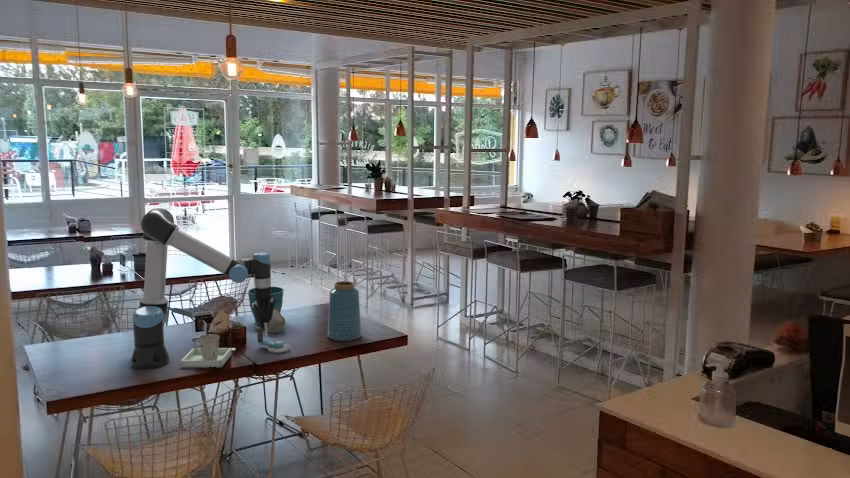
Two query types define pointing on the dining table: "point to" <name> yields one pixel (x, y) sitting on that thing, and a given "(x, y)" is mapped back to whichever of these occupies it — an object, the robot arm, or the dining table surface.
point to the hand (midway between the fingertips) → (264, 335)
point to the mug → (208, 346)
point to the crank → (260, 339)
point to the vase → (344, 312)
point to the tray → (197, 361)
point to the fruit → (276, 322)
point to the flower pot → (275, 294)
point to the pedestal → (279, 349)
